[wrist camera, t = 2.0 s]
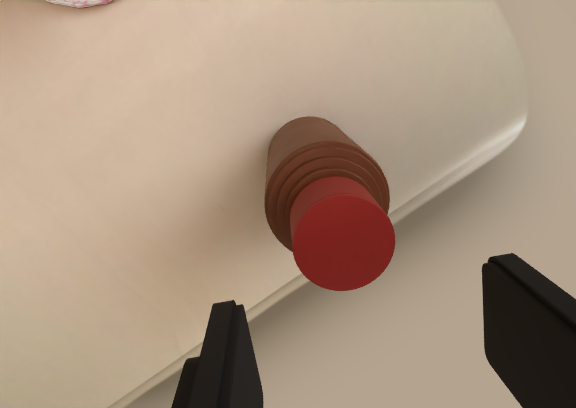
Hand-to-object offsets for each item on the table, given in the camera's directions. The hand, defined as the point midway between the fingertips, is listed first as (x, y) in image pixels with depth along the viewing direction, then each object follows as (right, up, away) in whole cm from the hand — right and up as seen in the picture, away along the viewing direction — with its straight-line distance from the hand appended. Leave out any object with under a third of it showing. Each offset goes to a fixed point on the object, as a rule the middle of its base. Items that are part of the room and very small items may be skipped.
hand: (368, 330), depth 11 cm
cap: (0, +3, +8) cm, 9 cm away
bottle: (0, +7, +22) cm, 23 cm away
